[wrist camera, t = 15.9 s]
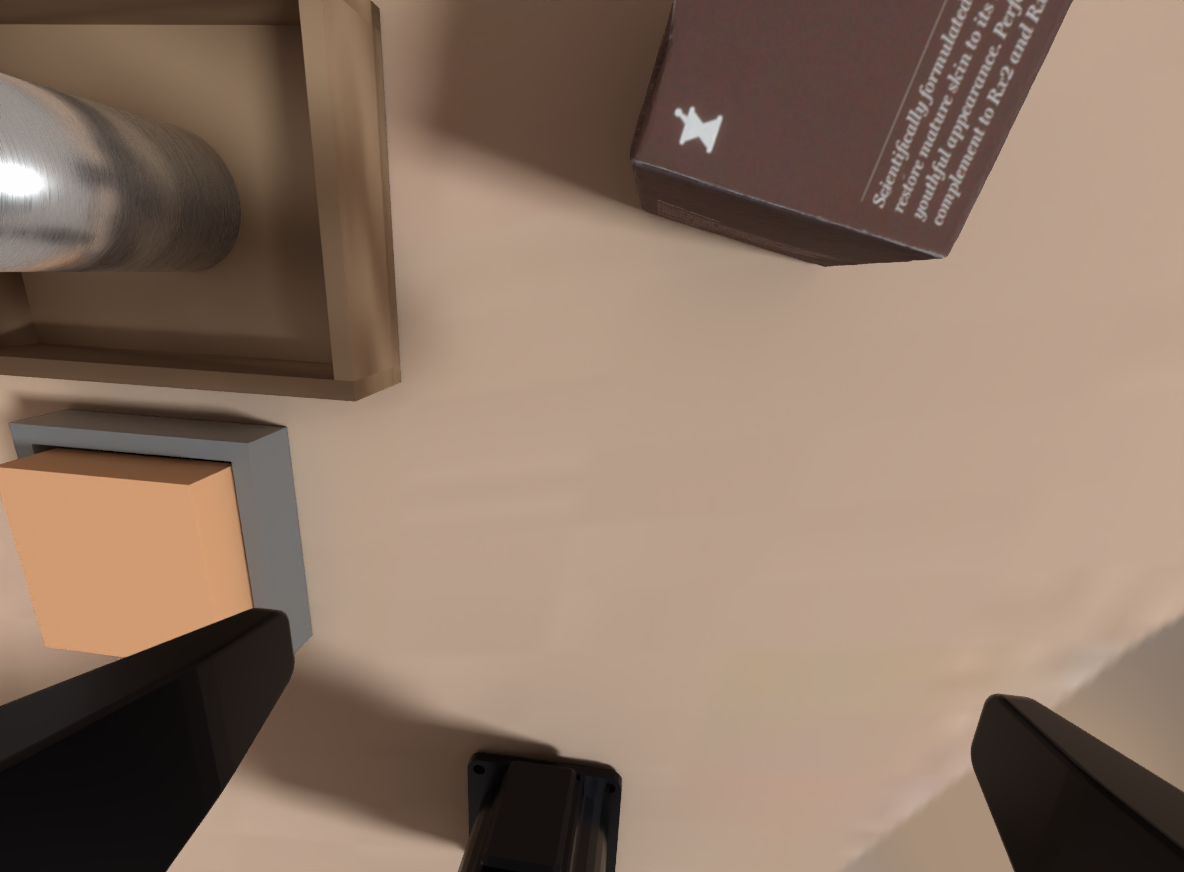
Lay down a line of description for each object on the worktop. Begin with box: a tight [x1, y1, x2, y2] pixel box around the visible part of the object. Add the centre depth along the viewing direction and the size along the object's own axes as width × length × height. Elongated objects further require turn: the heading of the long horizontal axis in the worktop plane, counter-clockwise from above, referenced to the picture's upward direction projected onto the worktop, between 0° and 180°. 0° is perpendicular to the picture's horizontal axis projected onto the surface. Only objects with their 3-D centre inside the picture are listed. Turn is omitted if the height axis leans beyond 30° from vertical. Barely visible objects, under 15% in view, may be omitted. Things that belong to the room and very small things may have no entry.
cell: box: [0, 73, 241, 272], centre depth 14 cm, size 4×4×8 cm
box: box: [630, 0, 1073, 267], centre depth 12 cm, size 6×6×7 cm
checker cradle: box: [9, 409, 312, 654], centre depth 21 cm, size 9×9×2 cm
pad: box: [0, 448, 254, 657], centre depth 19 cm, size 7×7×2 cm
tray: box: [0, 0, 401, 401], centre depth 17 cm, size 11×14×3 cm
